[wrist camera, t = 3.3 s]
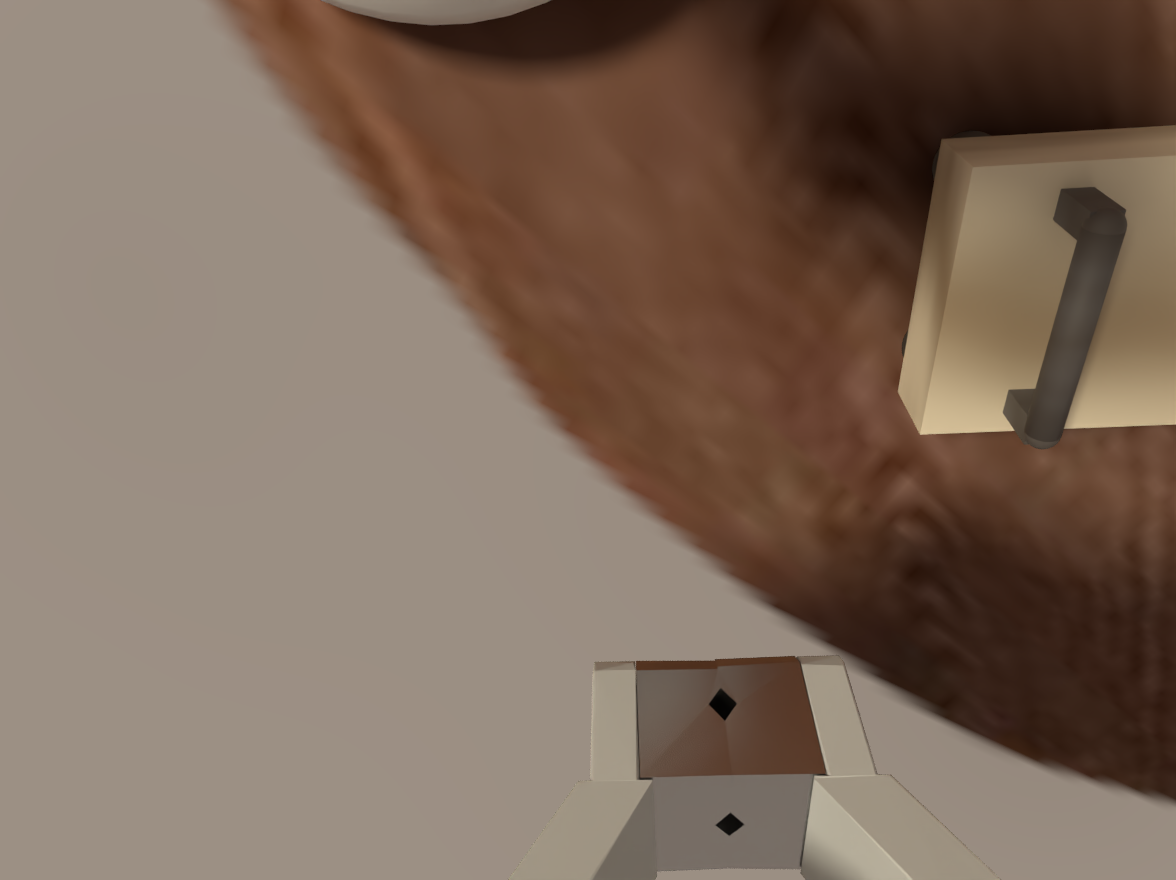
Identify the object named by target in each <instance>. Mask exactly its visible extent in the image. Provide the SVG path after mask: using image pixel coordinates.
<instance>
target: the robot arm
mask: <svg viewBox="0 0 1176 880" xmlns="http://www.w3.org/2000/svg"><path fill="white" fill-rule="evenodd" d="M592 677H593V678H592V724H591V770H590V781H578V782H577V783H576V785H575V786H574V788H573V789H572V790H571V792H570V793H569V795H568V796H567V797H566V799H565V800H564V802H563V803H562V805H561V806H560V807H559V809H558V810H557V812H556V813H555V814H554V816H553V817H552V819H551V820H550V821H549V823H548V824H547V826H546V827H545V828H544V830H543V831H542V833H541V834H540V836H539V837H538V838H537V840H536V841H535V842H534V844H533V846H532V847H531V848H530V850H529V851H528V852H527V854H526V855H525V857H524V858H523V860H522V861H521V862H520V864H519V865H518V866H517V868H516V869H515V871H514V872H513V874H512V875H511V876H510V878H509V879H508V880H655V879H656V877H657V871H676V870H700V869H723V868H743V869H744V868H745V869H748V868H749V869H801V874H802V876H803V877H804V878H805V880H1001V879H1000V878H999V877H998V876H997V875H996V874H995V873H994V872H993V871H991V870H990V869H989V868H988V867H987V866H986V865H985V864H984V863H983V862H982V861H981V860H980V859H979V858H978V857H977V856H976V855H975V854H974V853H973V852H972V851H970V850H969V849H968V848H967V847H966V846H965V845H964V844H963V843H962V842H961V841H960V840H959V839H958V838H957V837H956V836H955V835H954V834H953V833H952V832H950V831H949V830H948V829H947V828H946V827H945V826H944V825H943V824H942V823H941V822H940V821H939V820H938V819H937V818H936V817H935V816H933V814H932V813H930V812H929V811H928V810H927V809H926V808H925V807H924V806H923V805H922V804H921V803H920V802H919V801H918V800H917V799H916V798H915V797H914V796H913V795H912V794H911V793H909V792H908V791H907V790H906V789H905V788H904V787H903V786H902V785H901V784H900V783H899V782H898V781H897V780H896V779H895V778H894V777H893V776H892V775H880V774H877V771H876V767H875V764H874V761H873V757H872V754H871V751H870V747H869V744H868V741H867V737H866V734H865V731H864V727H863V724H862V721H861V717H860V714H859V711H858V707H857V704H856V701H855V697H854V694H853V691H852V687H851V684H850V681H849V677H848V674H847V671H846V667H845V664H844V662H843V660H842V659H841V658H840V657H839V655H836V656H804V657H797V658H795V656H787V657H786V656H785V657H760V658H736V659H715V661H636V668H635V661H625V662H623V661H622V662H595V664H594V669H593V676H592ZM636 681H637V684H636Z"/></svg>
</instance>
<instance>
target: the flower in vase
mask: <svg viewBox="0 0 1176 880" xmlns="http://www.w3.org/2000/svg"><path fill="white" fill-rule="evenodd" d="M321 1H324V2H326V3H329V4H332V5H334V6H337V7H339V8H342V9H345V10H347V11H350V12H354V13H358V14H362V15H366V16H370V17H375V18H379V19H383V20H387V21H392V22H402V23H413V24H423V25H448V24H470V23H475V22H480V21H485V20H490V19H496V18H501V17H506V16H510V15H513V14H516V13H519V12H521V11H524V10H527V9H530V8H533V7H535V6H538V5H541V4H544V3H547V2H549V1H551V0H321Z"/></svg>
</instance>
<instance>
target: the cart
mask: <svg viewBox="0 0 1176 880" xmlns="http://www.w3.org/2000/svg"><path fill="white" fill-rule="evenodd" d="M932 174H933V179H934V186H933V191H932V197H931V203H930V209H929V215H928V220H927V226H926V232H925V238H924V244H923V249H922V255H921V261H920V267H919V273H918V278H917V284H916V290H915V296H914V301H913V307H912V313H911V319H910V325H909V330H908V331H907V333H906V334H905V336H904V339H903V342H902V354H903V357H904V359H903V365H902V371H901V377H900V383H899V388H898V393H899V395H900V397H901V399H902V401H903V403H904V405H905V407H906V408H907V410H908V412H909V414H910V416H911V418H912V420H913V422H914V424H915V426H916V428H917V430H918V432H919V433H920V434H945V433H970V432H996V431H1015V432H1016V433H1017V435H1018V436H1019V438H1020V439H1021V441H1022V442H1023V443H1024V445H1025V444H1030V445H1031V446H1033V447H1035V448H1038V449H1048V448H1051V447H1053V446H1054V445H1056V444H1057V443H1058V442H1059V440H1060V438H1061V436H1062V433H1063V430H1064V429H1071V428H1097V427H1122V426H1147V425H1172V424H1176V125H1171V126H1154V127H1137V128H1120V129H1104V130H1087V131H1070V132H1053V133H1036V134H1019V135H1002V136H991V135H989V134H987V133H985V132H981V131H964V132H960V133H958V134H956V135H954V136H952V137H950V138H949V139H941V145H940V148H939V149H938V151H937V153H936V155H935V157H934V160H933V165H932Z"/></svg>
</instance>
